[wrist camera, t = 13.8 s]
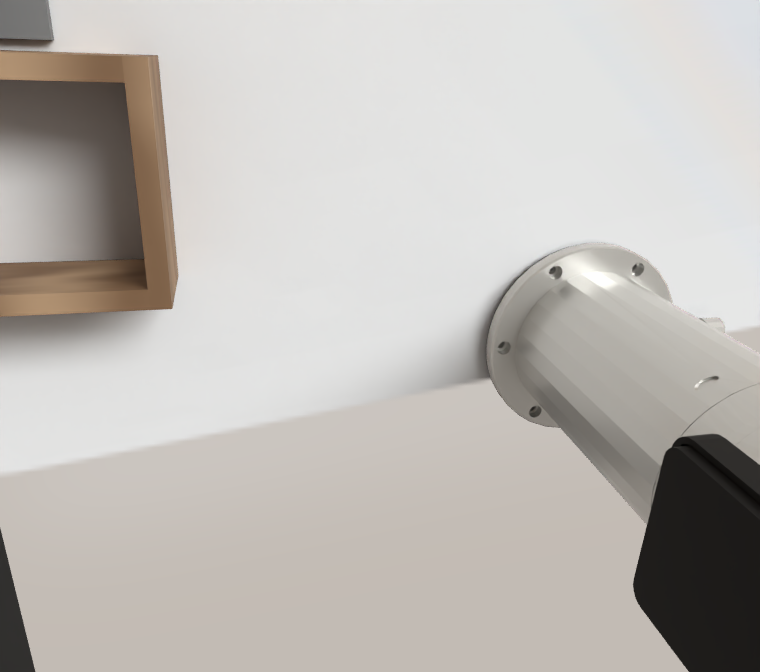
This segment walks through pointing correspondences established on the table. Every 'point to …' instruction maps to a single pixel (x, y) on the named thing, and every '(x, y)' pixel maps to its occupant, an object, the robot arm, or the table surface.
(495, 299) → the table surface
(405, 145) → the table surface
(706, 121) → the table surface
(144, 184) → the crate
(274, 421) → the table surface
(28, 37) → the mat
